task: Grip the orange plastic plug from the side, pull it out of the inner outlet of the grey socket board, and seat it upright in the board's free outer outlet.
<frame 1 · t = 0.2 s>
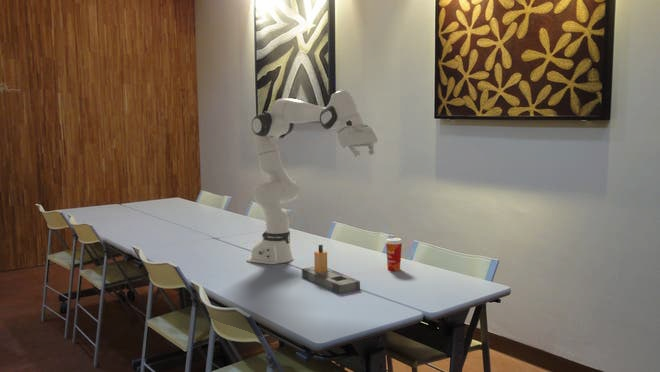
hand: (365, 155, 244), 54 cm above the table, tool tilted 30°, fingers open, 8 cm apart
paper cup: (393, 269, 269), on the table
grey socket board: (329, 282, 250), on the table
plug: (321, 278, 256), resting in grey socket board
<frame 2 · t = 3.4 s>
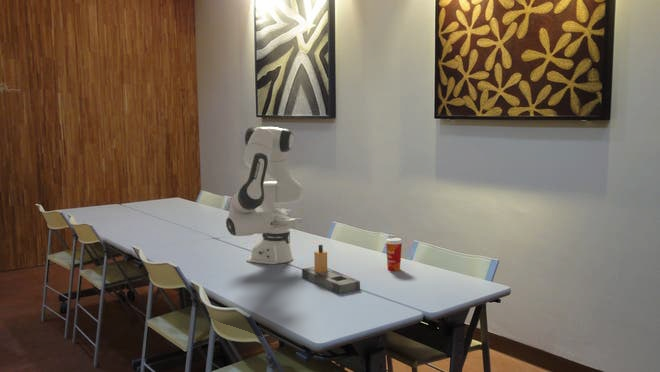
hand: (295, 218, 246), 28 cm above the table, tool horizontal, fingers open, 8 cm apart
nothing on the table moved.
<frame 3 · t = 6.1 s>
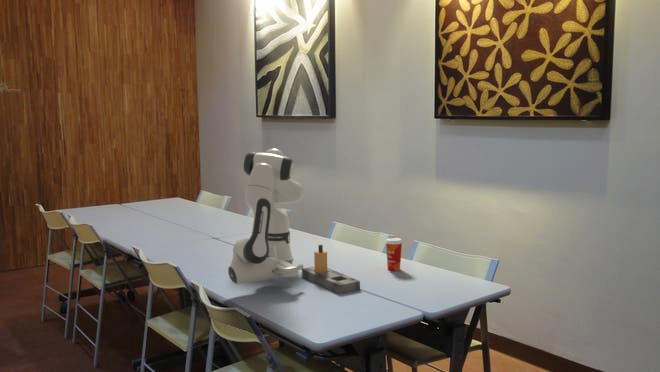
hand: (296, 263, 249), 8 cm above the table, tool horizontal, fingers open, 8 cm apart
nothing on the table moved.
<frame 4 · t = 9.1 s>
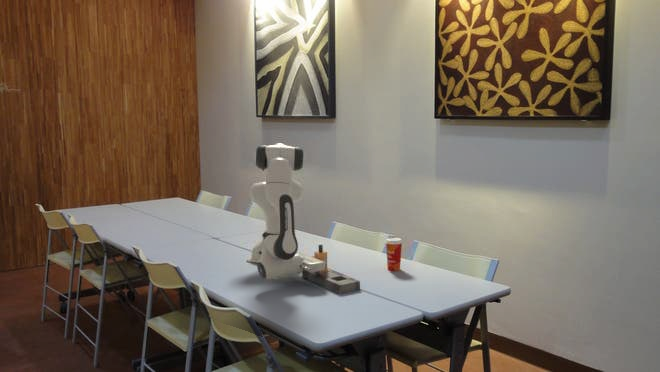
hand: (322, 259, 255), 9 cm above the table, tool horizontal, fingers closed on plug, 4 cm apart
plug: (321, 278, 256), resting in grey socket board, touching gripper
everything else where it was.
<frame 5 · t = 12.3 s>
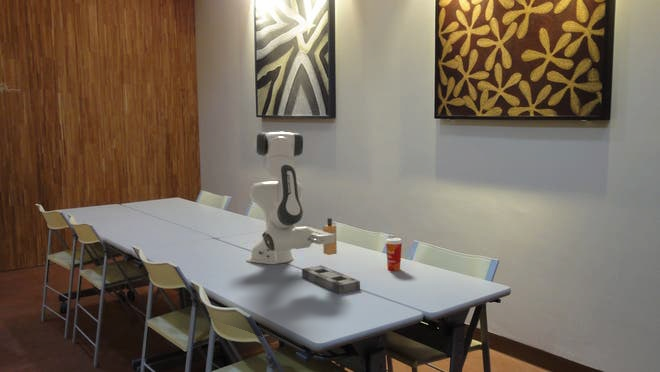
hand: (331, 233, 247), 21 cm above the table, tool horizontal, fingers closed on plug, 4 cm apart
plug: (330, 253, 248), point 13 cm above the table, touching gripper
everything else where it was.
when the fingers open (10 cm above the table, at t = 15.9 s): plug drops 1 cm, resting in grey socket board.
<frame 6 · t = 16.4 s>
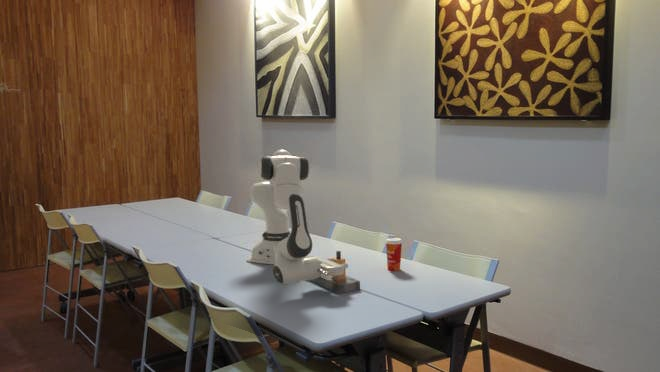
hand: (340, 262, 244), 10 cm above the table, tool horizontal, fingers open, 8 cm apart
plug: (338, 286, 244), resting in grey socket board
everything else where it was.
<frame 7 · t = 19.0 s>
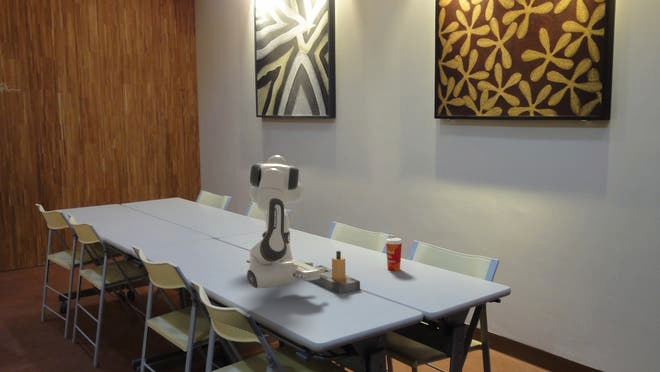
hand: (318, 266, 238), 10 cm above the table, tool horizontal, fingers open, 8 cm apart
nothing on the table moved.
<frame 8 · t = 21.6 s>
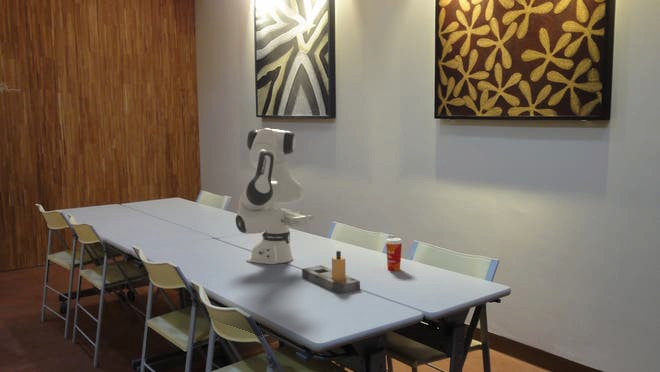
hand: (306, 215, 241), 30 cm above the table, tool horizontal, fingers open, 8 cm apart
nothing on the table moved.
at the end: plug 0.1 cm from the target spot, resting in grey socket board; plug tilted 0°; the gripper is holding nothing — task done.
